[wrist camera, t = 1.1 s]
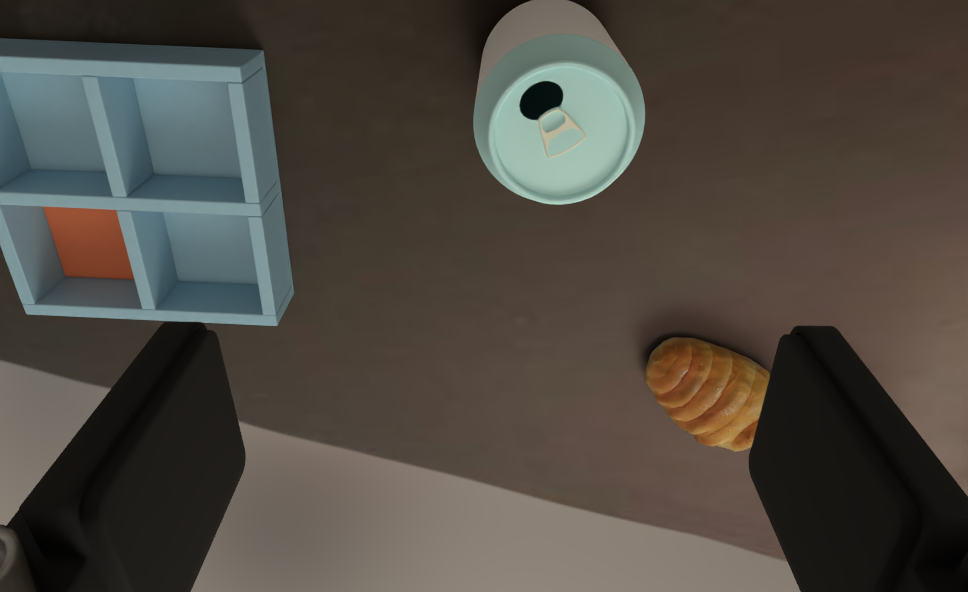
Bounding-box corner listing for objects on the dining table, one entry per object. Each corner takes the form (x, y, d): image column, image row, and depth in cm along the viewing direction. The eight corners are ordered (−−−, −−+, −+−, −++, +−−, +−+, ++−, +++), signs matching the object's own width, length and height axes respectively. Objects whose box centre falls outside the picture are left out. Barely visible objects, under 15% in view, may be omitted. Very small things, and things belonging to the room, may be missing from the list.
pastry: (617, 376, 48) (626, 412, 44) (685, 309, 45) (700, 342, 41) (715, 435, 50) (730, 474, 47) (785, 376, 47) (806, 412, 44)
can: (463, 103, 38) (446, 185, 28) (510, -27, 35) (511, 12, 24) (578, 148, 39) (603, 242, 29) (635, 26, 36) (686, 85, 25)
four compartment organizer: (-20, 37, 37) (-72, 52, 34) (263, 49, 37) (239, 66, 34) (61, 282, 45) (25, 314, 42) (294, 293, 45) (277, 326, 42)
